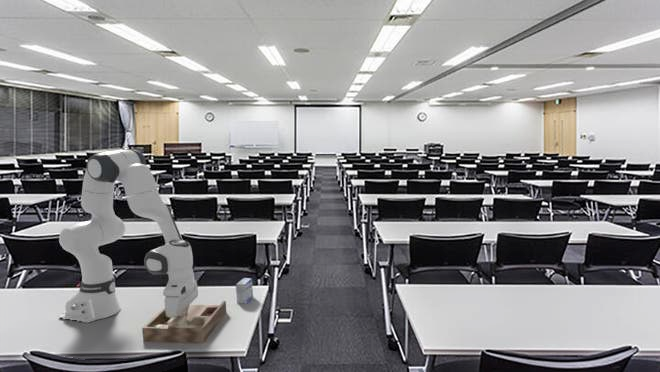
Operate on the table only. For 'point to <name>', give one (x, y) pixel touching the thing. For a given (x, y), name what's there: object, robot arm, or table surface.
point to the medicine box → (244, 290)
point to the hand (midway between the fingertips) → (184, 318)
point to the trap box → (197, 329)
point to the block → (178, 322)
